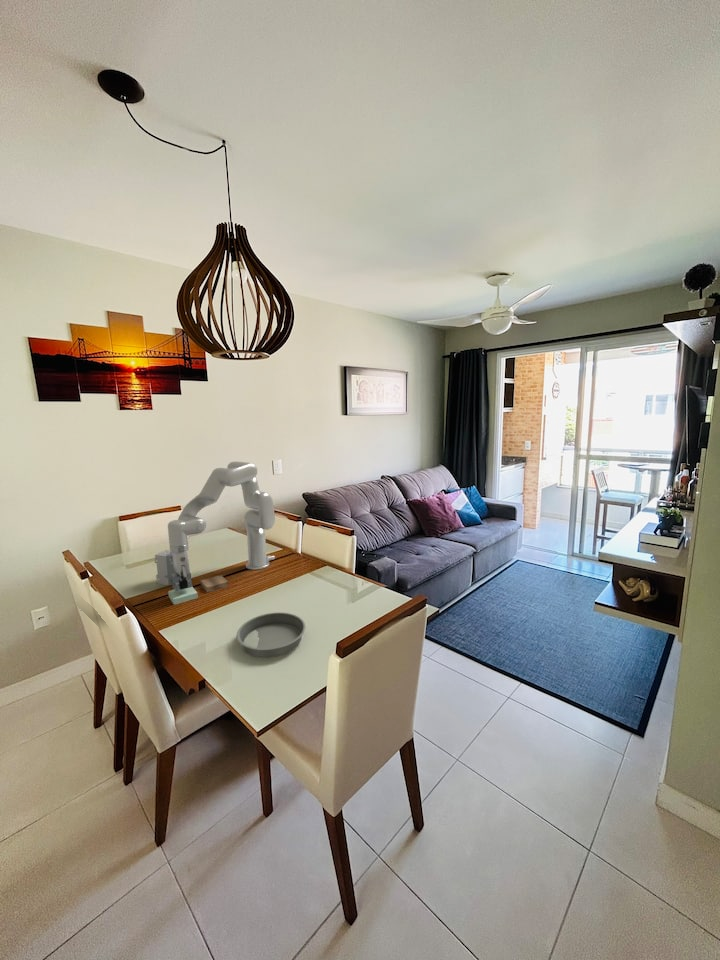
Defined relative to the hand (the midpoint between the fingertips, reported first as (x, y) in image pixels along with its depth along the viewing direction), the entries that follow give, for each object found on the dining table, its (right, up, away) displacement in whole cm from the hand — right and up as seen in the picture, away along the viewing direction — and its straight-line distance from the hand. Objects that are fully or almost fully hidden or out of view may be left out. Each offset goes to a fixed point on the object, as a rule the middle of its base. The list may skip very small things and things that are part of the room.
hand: (182, 585), depth 172 cm
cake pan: (+48, -11, -32) cm, 59 cm away
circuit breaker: (-12, -3, +17) cm, 21 cm away
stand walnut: (+10, -4, +12) cm, 16 cm away
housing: (0, -1, 0) cm, 1 cm away
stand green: (0, -5, +1) cm, 6 cm away
